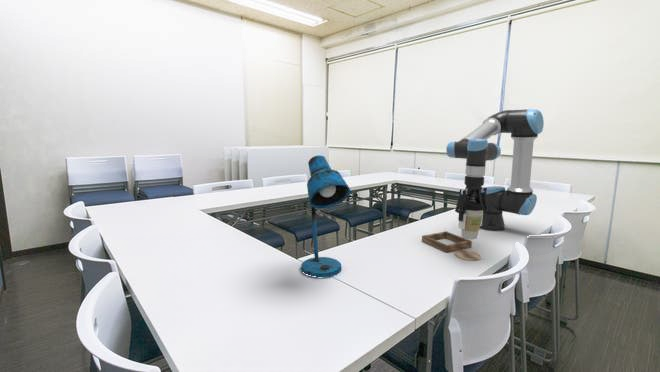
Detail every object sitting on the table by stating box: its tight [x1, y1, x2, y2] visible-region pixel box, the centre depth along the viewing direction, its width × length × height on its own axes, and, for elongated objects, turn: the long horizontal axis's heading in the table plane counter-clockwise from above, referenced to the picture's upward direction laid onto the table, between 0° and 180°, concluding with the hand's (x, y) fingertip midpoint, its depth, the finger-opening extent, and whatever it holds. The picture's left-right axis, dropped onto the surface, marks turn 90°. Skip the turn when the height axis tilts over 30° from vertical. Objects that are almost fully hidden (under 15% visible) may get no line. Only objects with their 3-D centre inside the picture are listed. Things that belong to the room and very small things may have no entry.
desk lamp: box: [300, 155, 351, 278], centre depth 122 cm, size 16×22×45 cm
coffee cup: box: [460, 200, 484, 240], centre depth 139 cm, size 10×10×15 cm
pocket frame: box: [421, 231, 473, 254], centre depth 155 cm, size 16×16×3 cm
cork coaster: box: [454, 249, 482, 262], centre depth 142 cm, size 11×11×1 cm
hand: (470, 226), depth 139 cm, fingers closed on coffee cup, 10 cm apart
